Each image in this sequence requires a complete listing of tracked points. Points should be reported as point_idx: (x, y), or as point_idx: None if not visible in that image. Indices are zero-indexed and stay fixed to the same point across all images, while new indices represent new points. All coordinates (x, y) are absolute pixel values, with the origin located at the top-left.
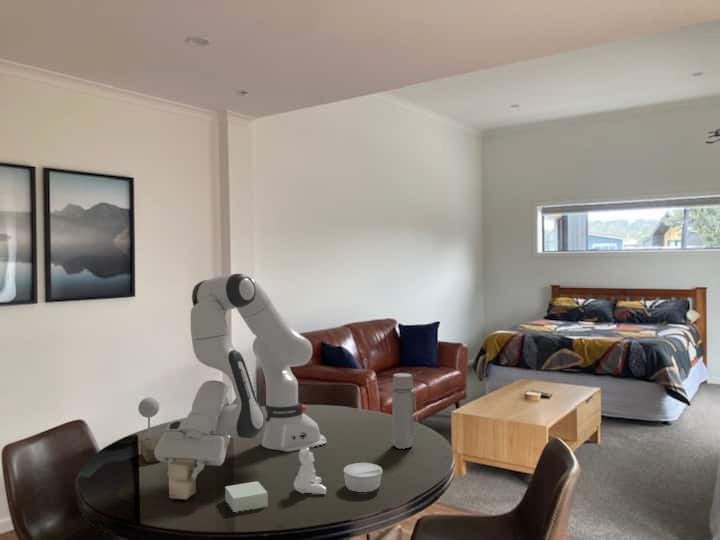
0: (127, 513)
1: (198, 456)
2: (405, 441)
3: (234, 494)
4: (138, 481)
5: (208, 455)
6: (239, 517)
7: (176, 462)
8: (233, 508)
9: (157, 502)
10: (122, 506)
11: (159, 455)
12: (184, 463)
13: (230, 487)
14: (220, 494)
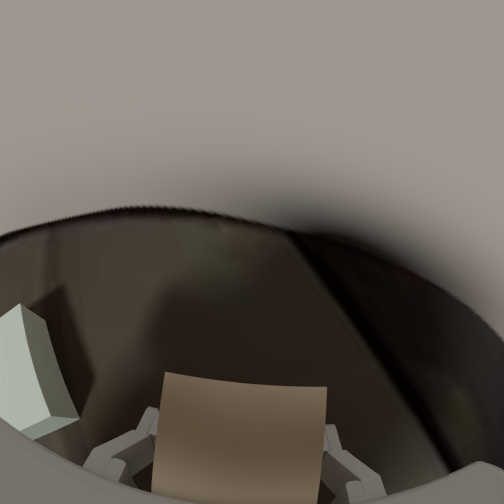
0: (362, 281)
1: (92, 486)
2: None
3: (18, 337)
4: None
5: (19, 458)
6: (34, 294)
7: (283, 444)
8: (39, 319)
9: (322, 382)
10: (408, 322)
11: (460, 472)
12: (195, 424)
13: (34, 403)
14: None
